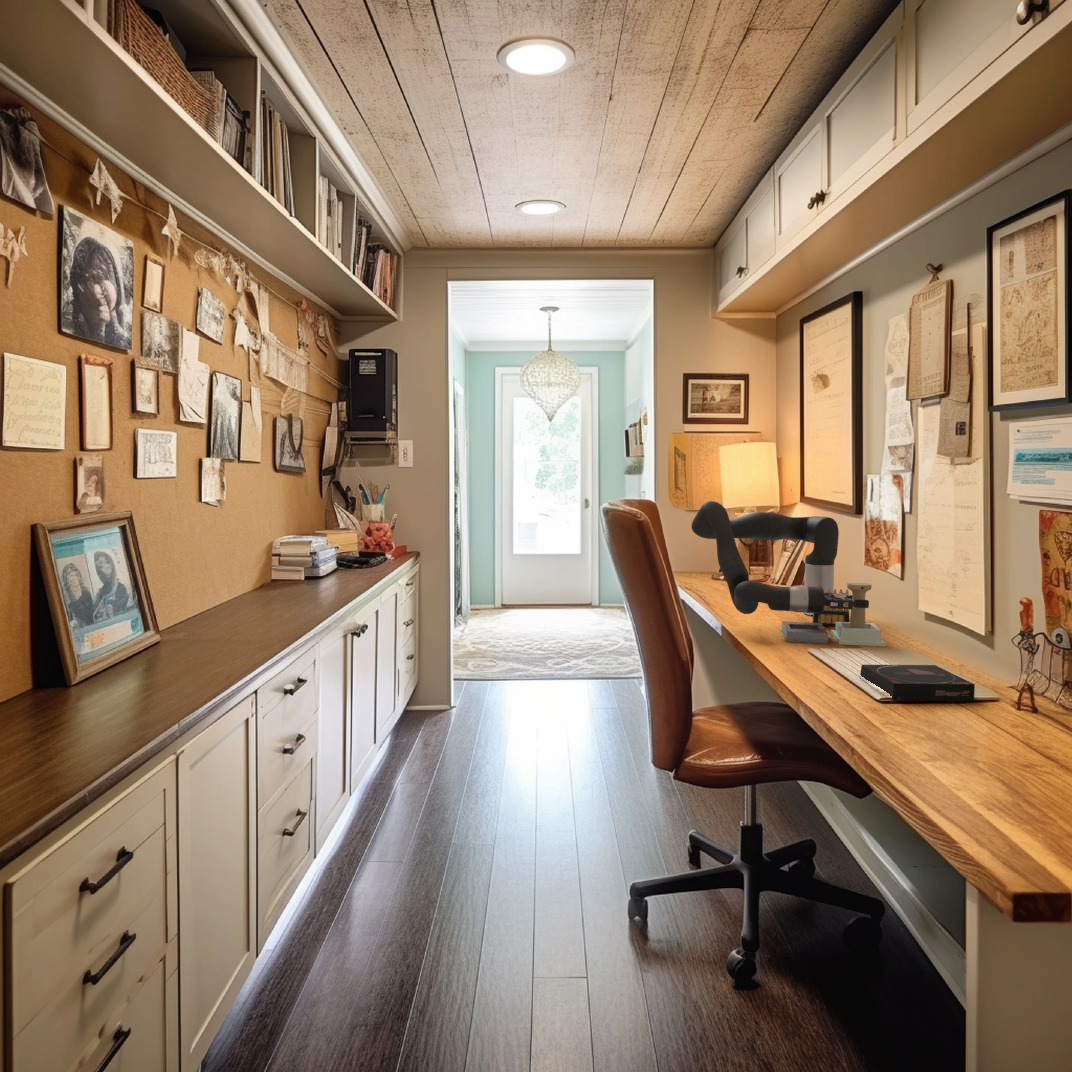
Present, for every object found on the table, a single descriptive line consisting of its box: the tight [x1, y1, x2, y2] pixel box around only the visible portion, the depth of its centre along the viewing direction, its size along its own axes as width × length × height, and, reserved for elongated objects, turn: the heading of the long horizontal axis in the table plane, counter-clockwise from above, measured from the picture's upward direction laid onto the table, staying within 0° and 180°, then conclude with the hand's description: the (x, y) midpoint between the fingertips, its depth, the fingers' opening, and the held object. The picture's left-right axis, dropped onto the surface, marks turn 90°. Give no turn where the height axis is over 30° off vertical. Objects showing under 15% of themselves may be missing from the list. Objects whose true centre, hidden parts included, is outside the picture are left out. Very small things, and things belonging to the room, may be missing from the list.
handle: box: [846, 582, 873, 629], centre depth 216 cm, size 5×6×15 cm
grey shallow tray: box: [830, 621, 887, 648], centre depth 217 cm, size 16×12×4 cm
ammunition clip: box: [812, 588, 850, 628], centre depth 236 cm, size 11×2×12 cm, turn 76°
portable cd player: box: [859, 664, 976, 702], centre depth 165 cm, size 16×17×4 cm
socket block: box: [781, 620, 829, 645], centre depth 220 cm, size 16×11×3 cm
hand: (865, 601), depth 216 cm, fingers open, 8 cm apart
